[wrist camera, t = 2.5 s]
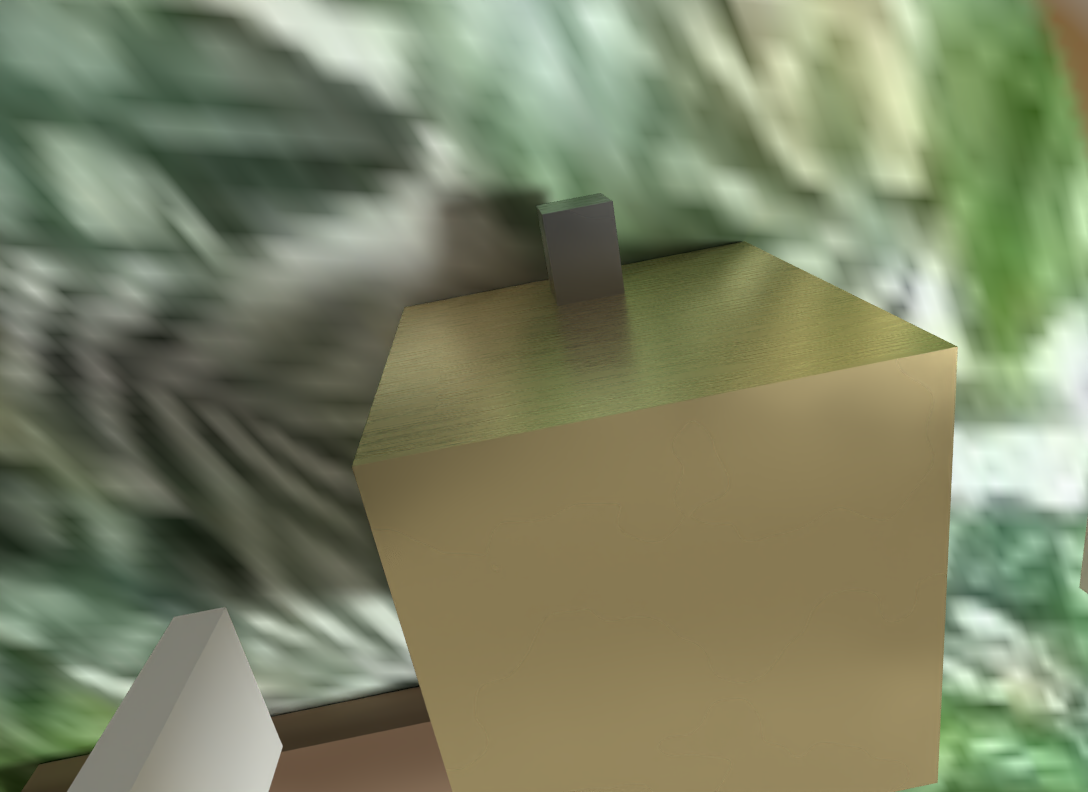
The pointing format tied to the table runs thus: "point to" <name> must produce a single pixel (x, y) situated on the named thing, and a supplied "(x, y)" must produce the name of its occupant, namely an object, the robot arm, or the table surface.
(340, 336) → the table surface
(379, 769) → the flat board
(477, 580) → the block with peg
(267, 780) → the robot arm
